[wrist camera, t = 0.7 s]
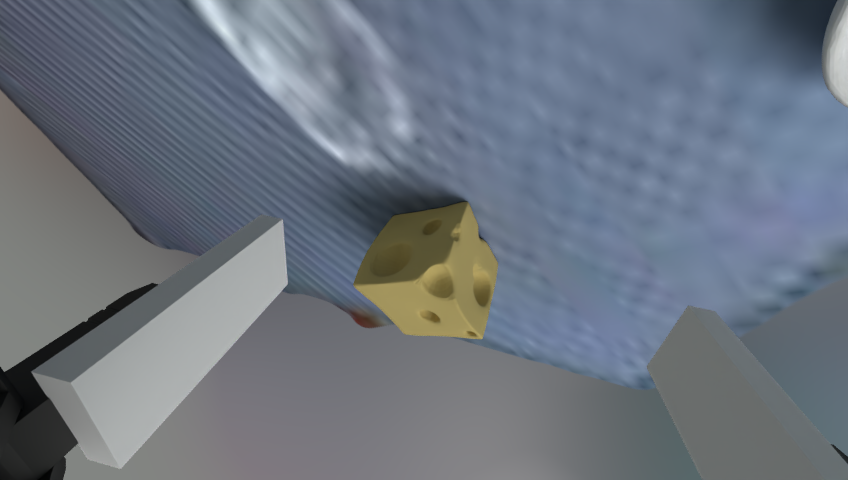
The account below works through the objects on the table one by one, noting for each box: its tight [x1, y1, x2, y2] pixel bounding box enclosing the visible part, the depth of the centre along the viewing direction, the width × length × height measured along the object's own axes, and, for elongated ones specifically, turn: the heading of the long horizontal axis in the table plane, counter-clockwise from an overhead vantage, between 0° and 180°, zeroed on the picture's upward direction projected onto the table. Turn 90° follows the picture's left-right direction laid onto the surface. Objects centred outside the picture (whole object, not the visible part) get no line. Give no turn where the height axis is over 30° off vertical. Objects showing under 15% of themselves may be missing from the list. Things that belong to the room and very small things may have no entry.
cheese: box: [353, 202, 498, 339], centre depth 36 cm, size 10×11×10 cm
